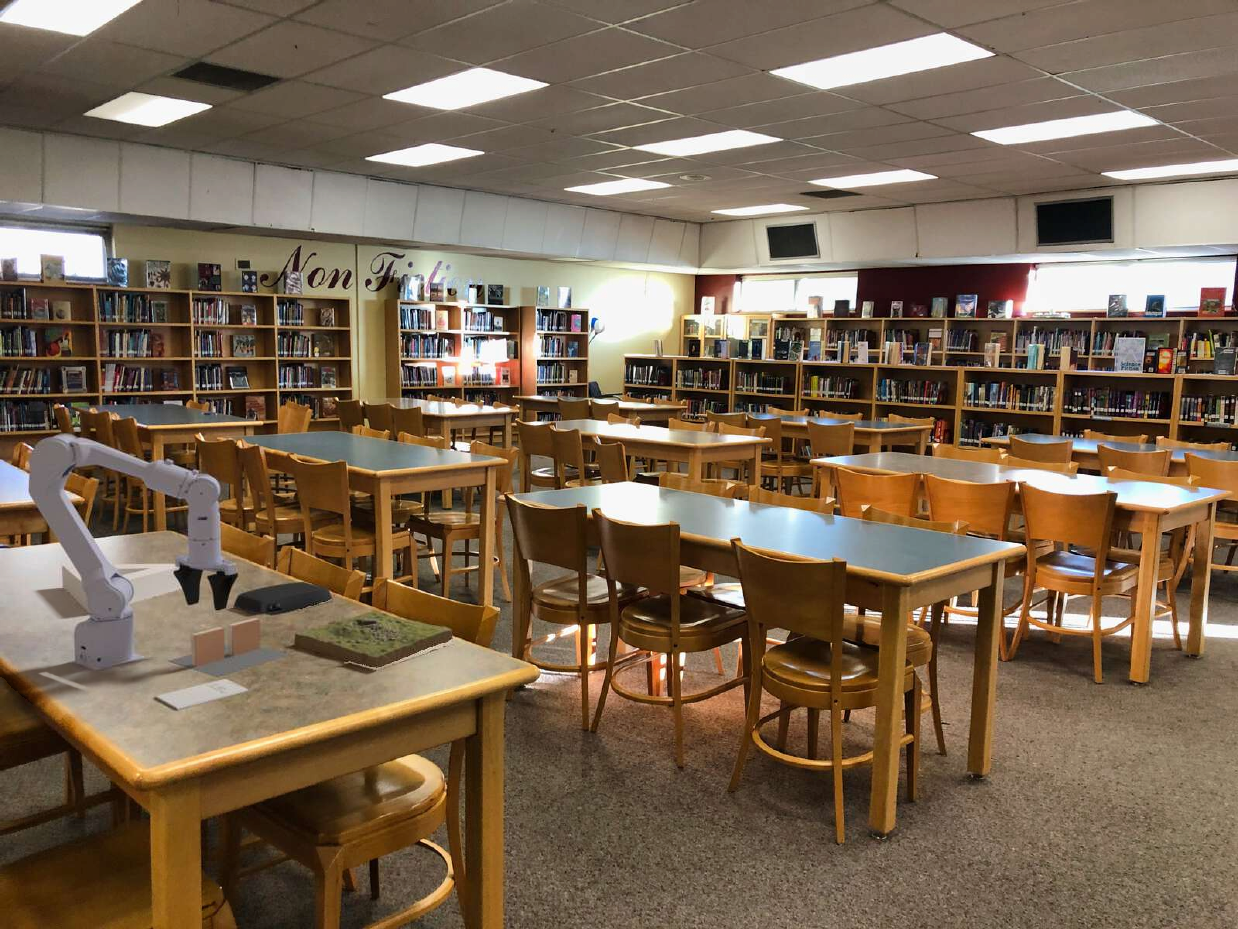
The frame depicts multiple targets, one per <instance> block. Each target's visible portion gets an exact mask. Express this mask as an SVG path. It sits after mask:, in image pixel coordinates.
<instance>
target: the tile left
mask: <svg viewBox="0 0 1238 929" xmlns="http://www.w3.org/2000/svg"><path fill="white" fill-rule="evenodd" d="M225 642H226V641H225V628H224V627H221V626H219V627H214V628H210V629H206V630H202V631H199V632H194V633H191V634H190V644H191V645H190V647H191V648H190V650H191V652H190V653H191V654H190V655H191V665H192V666H195V667H198V666H202V665H205V664H209V663H212V662H215V661H219V660H222V659H225V645H226V644H225Z"/></svg>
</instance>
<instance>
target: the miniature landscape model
mask: <svg viewBox="0 0 1238 929" xmlns="http://www.w3.org/2000/svg"><path fill="white" fill-rule="evenodd" d="M451 639H453V629H451V628H448V627H446V626H439V625H436V624H435V625H434V624H433V625H432V624H427V623H425V622H421V621H418V620H417V621H415V620H411V619H403V618H400V617H396V616H395V617H394V616H390V615H388V614H387V613H386V612H385V613H384V612H383V613H380V612H378V611H370V612H366V613H362V614H359V615H355V616H353V617H348V618H346V619H343V620H342V619H340V620H332V621H329V622H328V623H327V624H322V625H318V626H317V627H316V626H315V627H313V628H310V629H307V630H302V631H299V632H295V633H294V642H293V645H294V646H295V647H300V648H303V649H307V650H310V651H313V652H317V653H321V654H324V655H329V656H331V657H334V658H335V657H336V658H339V659H343V660H346V661H351V662H354V663H357V664H362V665H363V664H364V665H366V666H369V667H376V668H377V667H382V666H384V665H386V664H390V663H392V662H394V661H398V660H400V659H402V658H404V657H408V656H410V655H412V654H415V653H417V652H419V651H421V650H425V649H427V648H429V647H433V646H436V645H438V644H441V643H446V642H448V641H449V640H451Z"/></svg>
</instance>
